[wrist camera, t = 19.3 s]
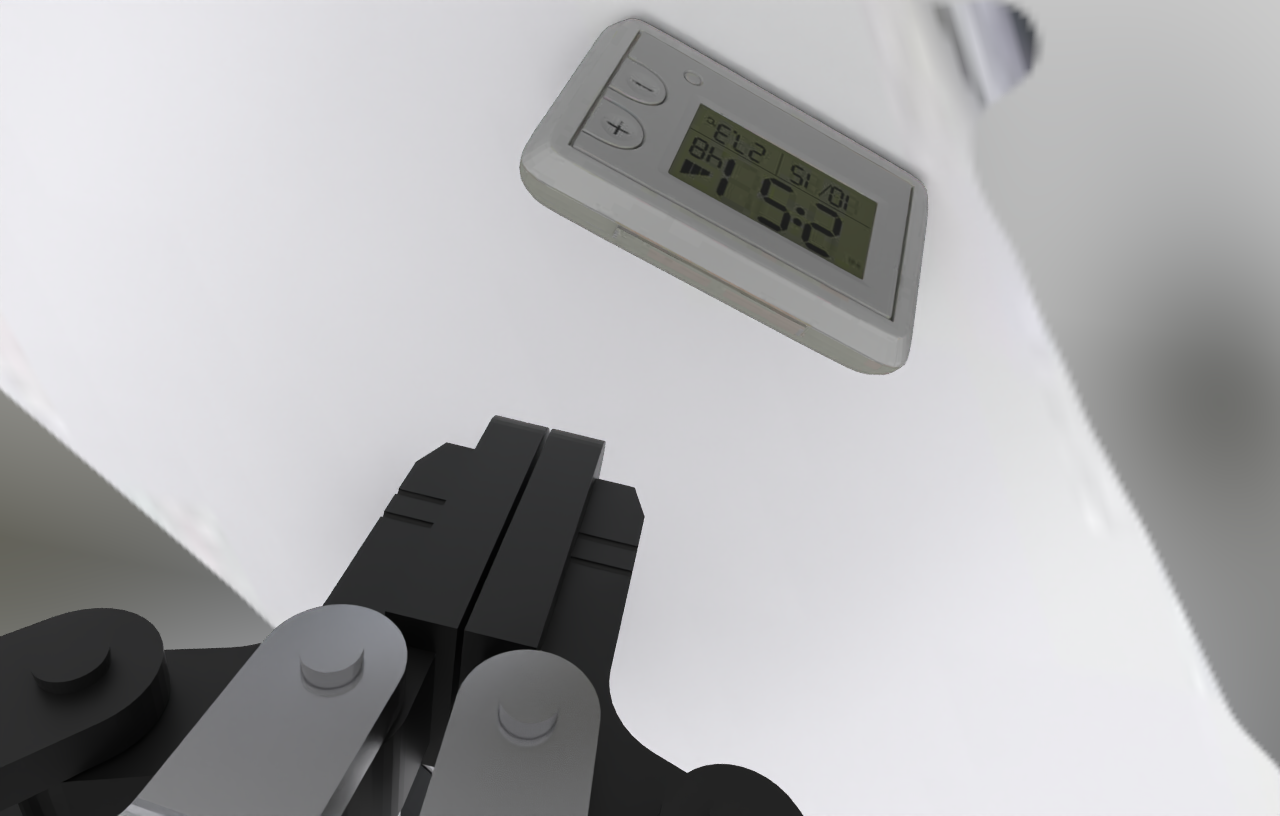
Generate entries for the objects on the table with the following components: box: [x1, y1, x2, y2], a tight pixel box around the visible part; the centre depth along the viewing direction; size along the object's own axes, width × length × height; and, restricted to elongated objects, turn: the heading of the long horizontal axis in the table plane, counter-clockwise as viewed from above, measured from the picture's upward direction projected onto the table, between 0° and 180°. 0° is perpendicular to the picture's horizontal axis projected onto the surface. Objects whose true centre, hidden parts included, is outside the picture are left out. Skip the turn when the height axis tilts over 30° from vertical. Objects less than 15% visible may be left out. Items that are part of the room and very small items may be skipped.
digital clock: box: [519, 18, 928, 375], centre depth 33 cm, size 16×9×11 cm, turn 52°
